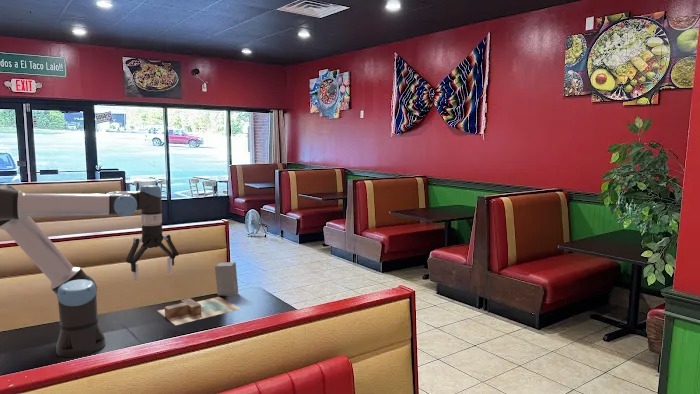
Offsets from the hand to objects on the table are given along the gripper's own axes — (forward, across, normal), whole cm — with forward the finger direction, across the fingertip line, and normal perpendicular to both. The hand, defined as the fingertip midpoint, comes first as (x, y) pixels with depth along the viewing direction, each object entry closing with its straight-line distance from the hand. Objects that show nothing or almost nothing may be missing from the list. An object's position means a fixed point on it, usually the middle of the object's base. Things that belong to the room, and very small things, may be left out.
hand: (153, 276), depth 190 cm
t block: (+17, +10, -2) cm, 20 cm away
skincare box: (+18, +38, +8) cm, 43 cm away
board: (+18, +18, -3) cm, 26 cm away
